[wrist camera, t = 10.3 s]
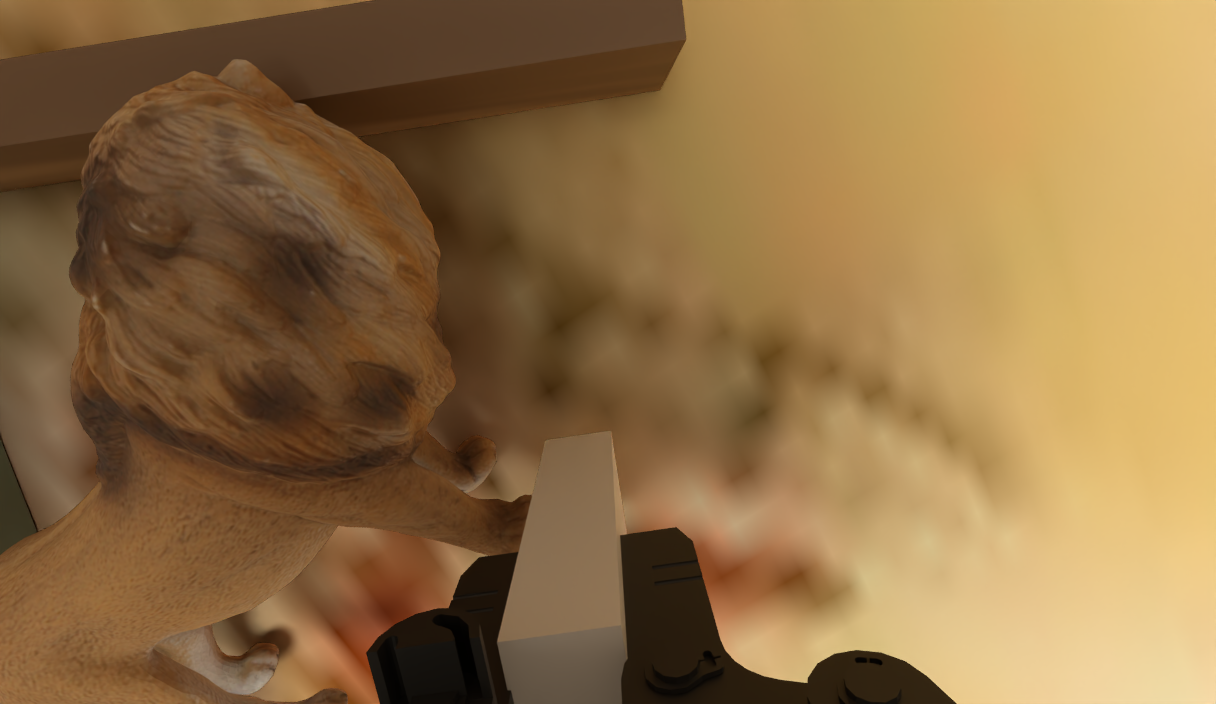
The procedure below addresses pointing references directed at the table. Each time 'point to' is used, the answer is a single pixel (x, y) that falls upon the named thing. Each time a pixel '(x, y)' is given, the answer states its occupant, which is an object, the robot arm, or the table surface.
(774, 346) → the table surface
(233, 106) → the lion figurine
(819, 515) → the table surface
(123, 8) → the table surface
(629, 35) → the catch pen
